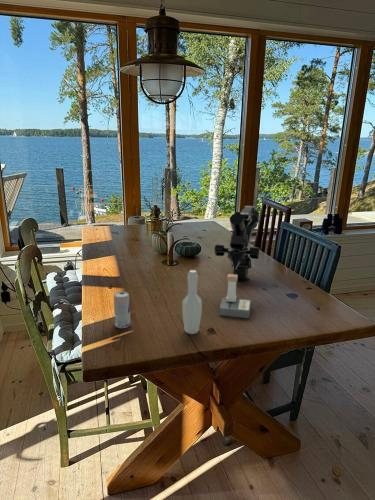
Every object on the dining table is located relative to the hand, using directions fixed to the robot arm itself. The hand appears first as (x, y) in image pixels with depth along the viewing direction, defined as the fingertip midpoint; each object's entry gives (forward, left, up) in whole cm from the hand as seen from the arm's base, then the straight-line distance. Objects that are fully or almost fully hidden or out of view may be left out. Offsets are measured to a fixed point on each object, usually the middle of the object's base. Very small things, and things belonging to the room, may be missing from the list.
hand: (234, 269), depth 149 cm
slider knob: (+7, +7, -9) cm, 14 cm away
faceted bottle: (+31, +14, -13) cm, 36 cm away
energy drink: (+50, -2, -13) cm, 51 cm away
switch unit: (+8, +10, -13) cm, 18 cm away
